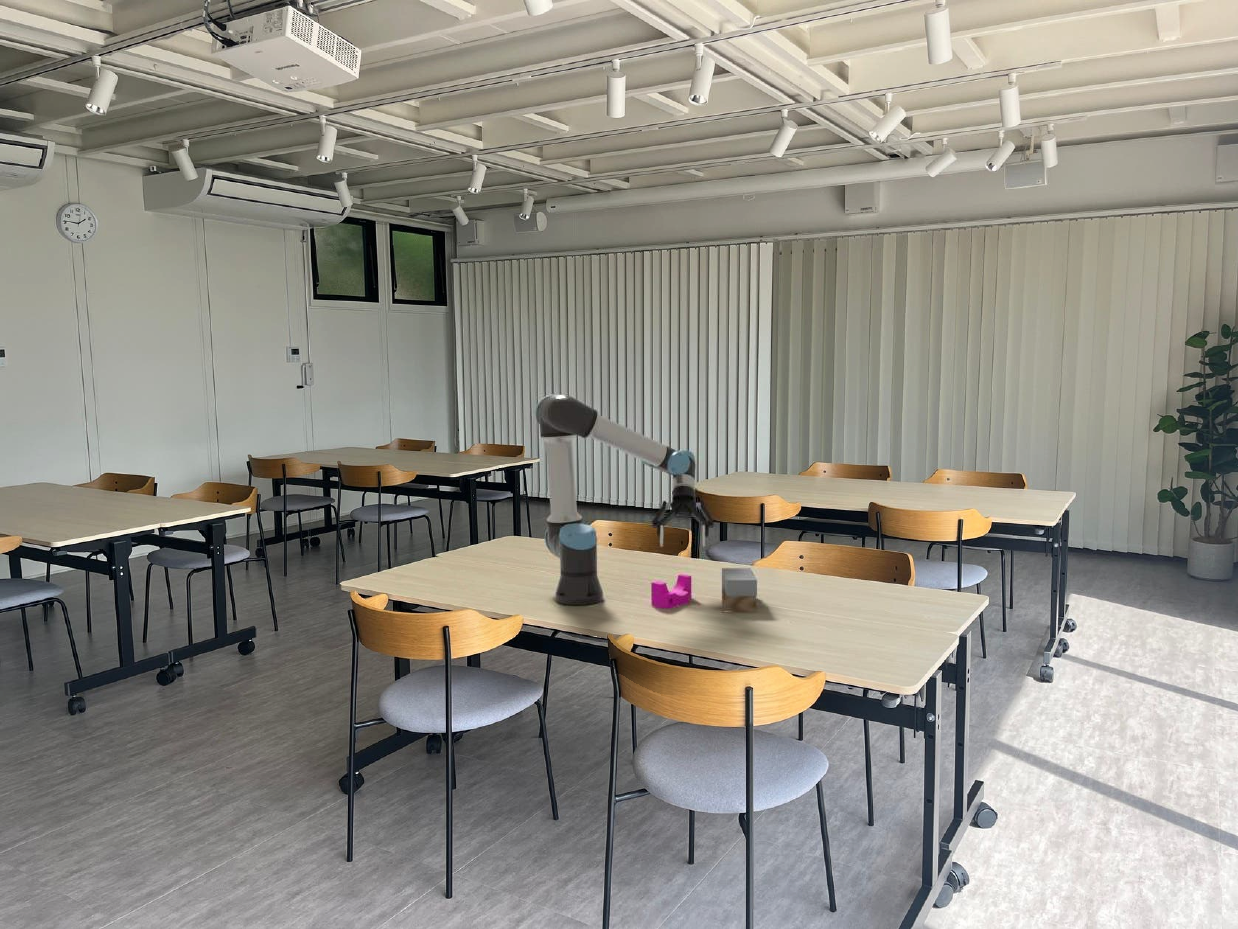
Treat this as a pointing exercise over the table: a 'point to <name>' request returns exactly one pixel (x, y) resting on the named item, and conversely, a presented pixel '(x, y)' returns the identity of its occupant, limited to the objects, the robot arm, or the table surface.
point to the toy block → (671, 592)
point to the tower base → (738, 603)
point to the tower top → (739, 582)
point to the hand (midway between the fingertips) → (682, 544)
